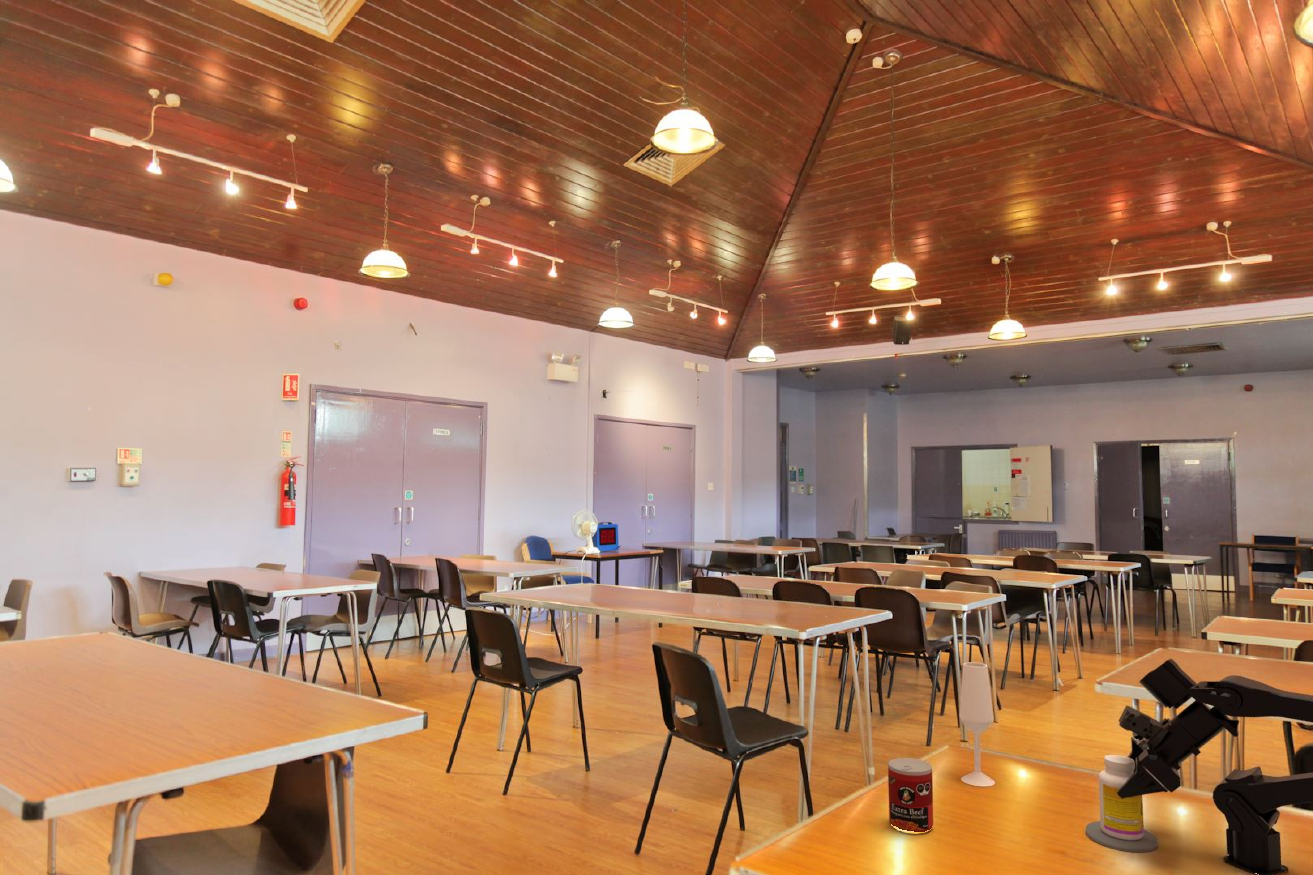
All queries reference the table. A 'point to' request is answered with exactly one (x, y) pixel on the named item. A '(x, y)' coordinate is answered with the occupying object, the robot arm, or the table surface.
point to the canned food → (910, 794)
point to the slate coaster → (1141, 845)
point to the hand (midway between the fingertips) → (1117, 786)
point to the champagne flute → (976, 714)
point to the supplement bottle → (1119, 800)
